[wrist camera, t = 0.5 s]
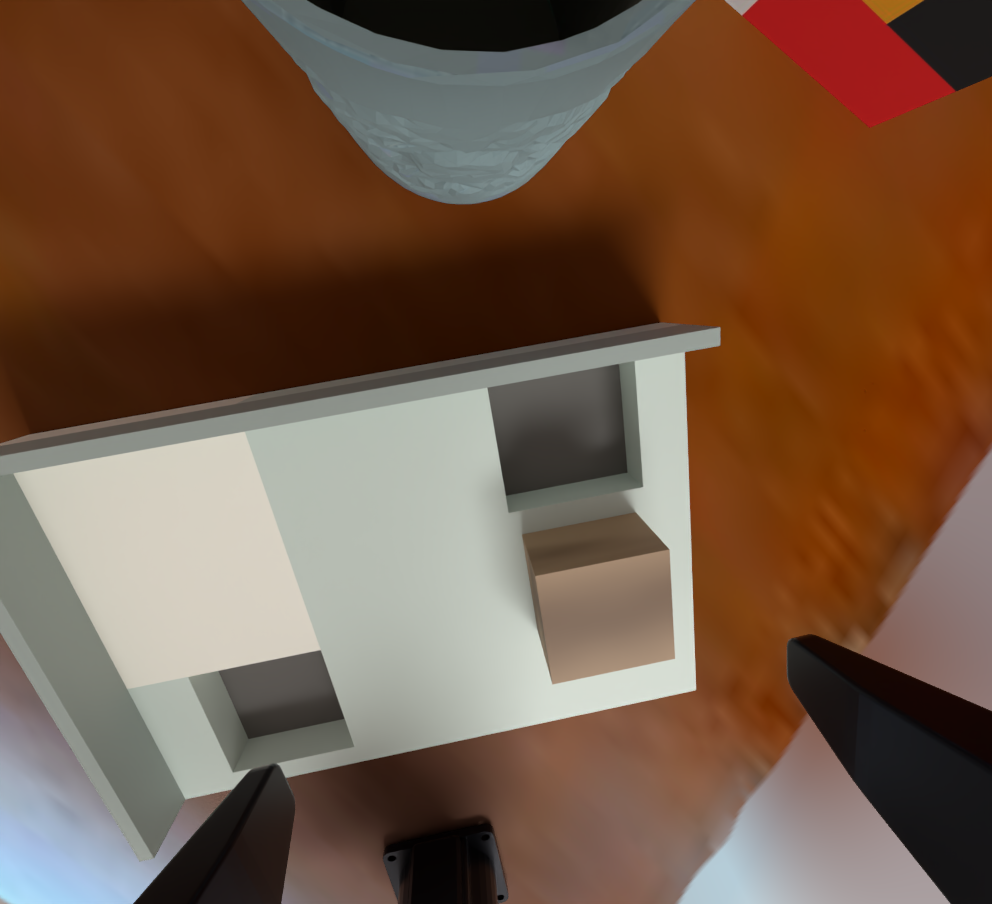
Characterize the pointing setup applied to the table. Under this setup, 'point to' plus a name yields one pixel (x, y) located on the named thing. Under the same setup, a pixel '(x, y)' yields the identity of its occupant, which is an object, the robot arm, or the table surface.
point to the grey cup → (464, 79)
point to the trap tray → (333, 563)
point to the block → (601, 596)
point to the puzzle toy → (881, 48)
